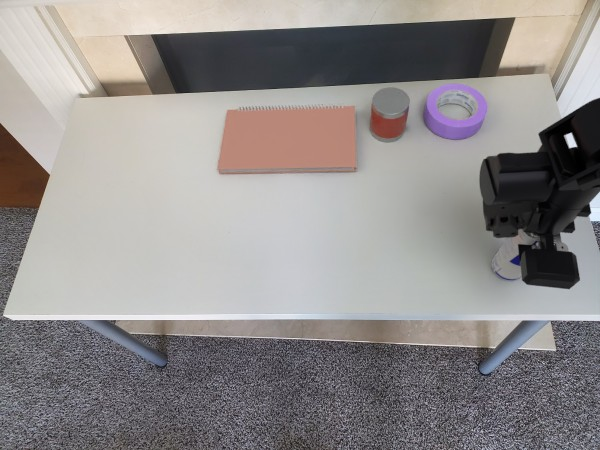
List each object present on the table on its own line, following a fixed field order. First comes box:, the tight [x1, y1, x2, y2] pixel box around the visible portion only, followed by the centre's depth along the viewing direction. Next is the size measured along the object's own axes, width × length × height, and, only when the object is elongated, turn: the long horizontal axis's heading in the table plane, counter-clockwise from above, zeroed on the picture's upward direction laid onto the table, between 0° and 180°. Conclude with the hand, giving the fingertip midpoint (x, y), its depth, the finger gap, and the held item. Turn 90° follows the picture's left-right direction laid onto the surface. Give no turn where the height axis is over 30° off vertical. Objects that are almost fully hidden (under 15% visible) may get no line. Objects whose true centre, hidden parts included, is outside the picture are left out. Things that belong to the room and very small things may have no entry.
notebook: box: [216, 103, 358, 175], centre depth 91 cm, size 27×17×2 cm, turn 88°
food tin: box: [369, 86, 411, 143], centre depth 87 cm, size 7×7×8 cm
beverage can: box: [491, 229, 540, 282], centre depth 67 cm, size 5×5×15 cm
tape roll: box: [423, 83, 489, 140], centre depth 89 cm, size 12×12×4 cm
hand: (520, 247), depth 67 cm, fingers closed on beverage can, 5 cm apart
